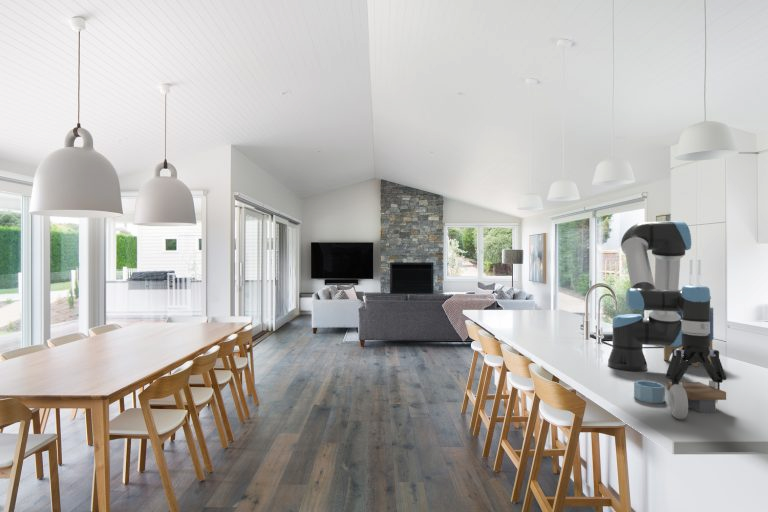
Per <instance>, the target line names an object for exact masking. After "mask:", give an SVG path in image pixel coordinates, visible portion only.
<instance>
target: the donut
mask: <svg viewBox="0 0 768 512" xmlns="http://www.w3.org/2000/svg"><path fill="white" fill-rule="evenodd" d="M668 391H669V392H668V395H669V396H668V401H669V408H670V411H671V415H672V416H673V417H674V418H676V419H678V420H684V419H686V418H687V416H688V413H689V407H688V398H687V394H686V391H685V389H684V388H683V387H682V386H681V385H678V384H674V385H673V386H671V388H670V390H668Z"/></svg>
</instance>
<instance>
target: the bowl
mask: <svg viewBox="0 0 768 512" xmlns="http://www.w3.org/2000/svg"><path fill="white" fill-rule="evenodd" d="M633 397H634V399H636V400H639V401H641V402H645V403H650V404H663V403H664V402H665V401H666V386H665V385H664V384H662V383H660V382H656V381H651V380H636V381H634V382H633Z"/></svg>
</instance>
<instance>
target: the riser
mask: <svg viewBox="0 0 768 512" xmlns="http://www.w3.org/2000/svg"><path fill="white" fill-rule="evenodd" d="M688 408H690V409H691V410H694V411H696V412H698V413H716V409H717V408H716V403H715V400H691V399H688Z"/></svg>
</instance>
